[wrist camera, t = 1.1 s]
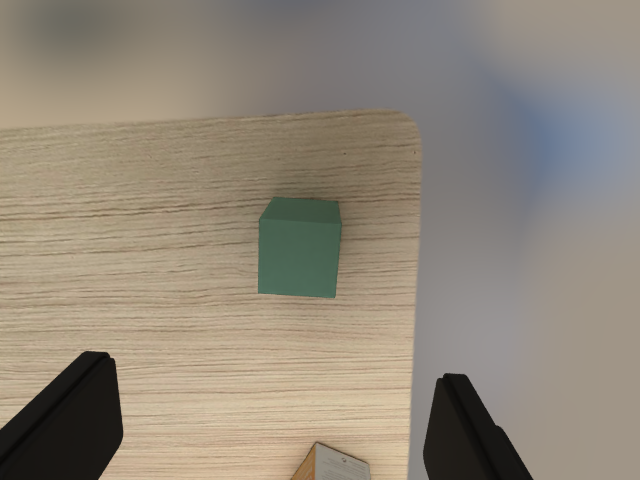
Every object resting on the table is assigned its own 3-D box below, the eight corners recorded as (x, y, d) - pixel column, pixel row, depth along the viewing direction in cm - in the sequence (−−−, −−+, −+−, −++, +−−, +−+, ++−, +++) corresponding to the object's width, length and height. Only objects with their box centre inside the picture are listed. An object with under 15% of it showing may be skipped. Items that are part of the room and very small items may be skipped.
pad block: (273, 196, 25) (258, 218, 20) (337, 201, 25) (341, 224, 20) (271, 256, 27) (257, 293, 21) (332, 260, 27) (335, 298, 21)
